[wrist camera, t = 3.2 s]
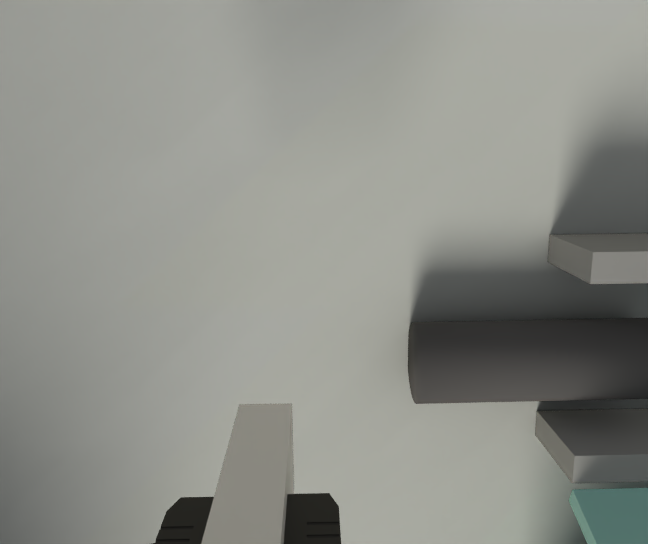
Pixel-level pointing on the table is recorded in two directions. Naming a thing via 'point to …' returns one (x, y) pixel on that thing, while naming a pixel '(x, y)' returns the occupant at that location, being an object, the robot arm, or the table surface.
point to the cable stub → (528, 360)
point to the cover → (612, 515)
